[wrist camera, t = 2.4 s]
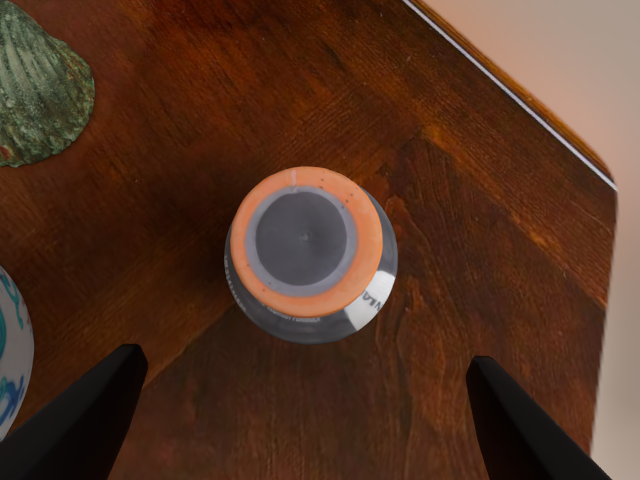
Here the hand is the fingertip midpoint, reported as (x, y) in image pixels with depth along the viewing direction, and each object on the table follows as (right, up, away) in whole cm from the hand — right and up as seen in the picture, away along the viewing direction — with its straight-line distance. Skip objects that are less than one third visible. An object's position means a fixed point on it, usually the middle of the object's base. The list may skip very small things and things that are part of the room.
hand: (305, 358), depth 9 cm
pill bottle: (0, +1, +11) cm, 11 cm away
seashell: (-19, +13, +13) cm, 26 cm away
